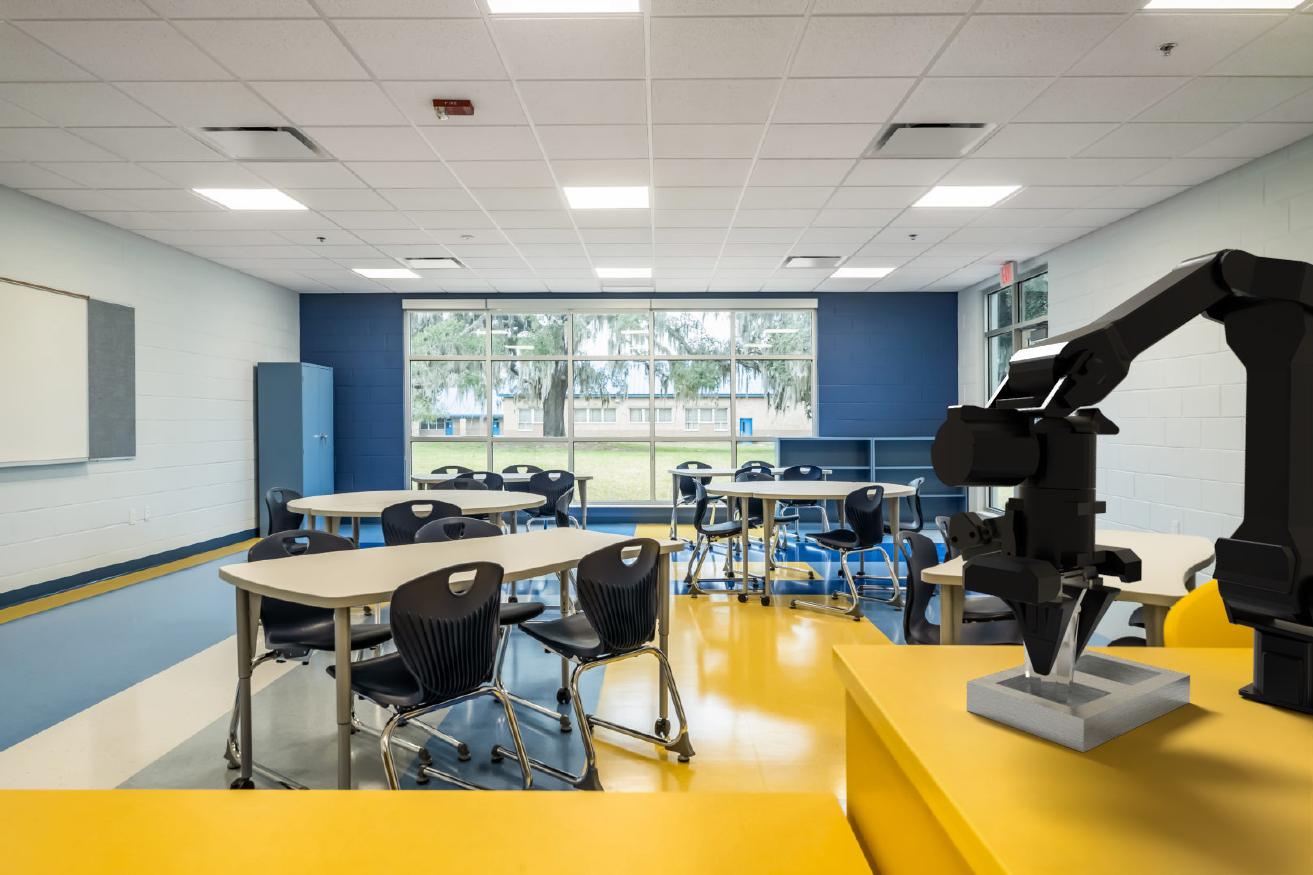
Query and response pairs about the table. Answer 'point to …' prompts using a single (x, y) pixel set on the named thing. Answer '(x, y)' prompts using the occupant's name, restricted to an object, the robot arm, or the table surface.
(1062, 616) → the robot arm
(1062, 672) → the milkshake
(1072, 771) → the table surface
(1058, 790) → the table surface
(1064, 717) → the block
